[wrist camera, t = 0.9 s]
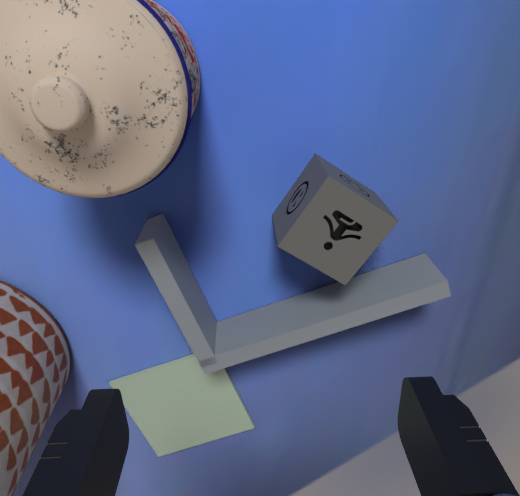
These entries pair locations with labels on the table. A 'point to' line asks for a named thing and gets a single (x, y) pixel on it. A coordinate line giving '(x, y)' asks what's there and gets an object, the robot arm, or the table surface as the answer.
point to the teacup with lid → (94, 92)
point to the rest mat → (183, 404)
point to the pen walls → (280, 303)
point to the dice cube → (331, 220)
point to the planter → (26, 379)
